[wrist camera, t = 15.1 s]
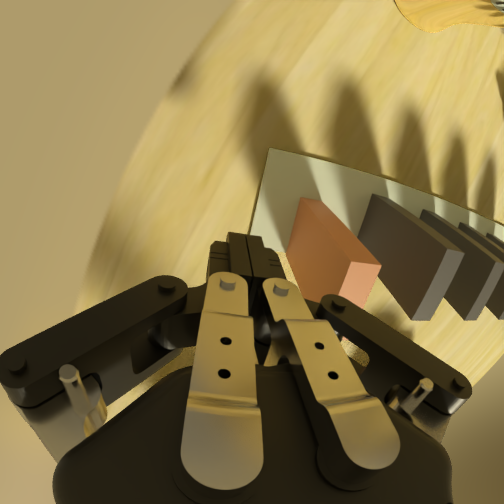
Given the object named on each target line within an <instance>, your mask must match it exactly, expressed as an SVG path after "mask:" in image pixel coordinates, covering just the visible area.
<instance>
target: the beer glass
mask: <svg viewBox="0 0 504 504" xmlns="http://www.w3.org/2000/svg"><path fill="white" fill-rule="evenodd" d="M395 2H396V5H397V7H398V8H399V10H400V11H401V13H402V14H403V15H404V17H405V18H406V19H407V20H408V21H409V22H410V23H412V24H413V25H414V26H415V27H417V28H419V29H420V30H423V31H425V32H429V33H437V32H440V31H442V30H444V29H446V28H448V27H450V26H453V25H456V24H477V25H485V26H493V27H500V28H504V0H395Z"/></svg>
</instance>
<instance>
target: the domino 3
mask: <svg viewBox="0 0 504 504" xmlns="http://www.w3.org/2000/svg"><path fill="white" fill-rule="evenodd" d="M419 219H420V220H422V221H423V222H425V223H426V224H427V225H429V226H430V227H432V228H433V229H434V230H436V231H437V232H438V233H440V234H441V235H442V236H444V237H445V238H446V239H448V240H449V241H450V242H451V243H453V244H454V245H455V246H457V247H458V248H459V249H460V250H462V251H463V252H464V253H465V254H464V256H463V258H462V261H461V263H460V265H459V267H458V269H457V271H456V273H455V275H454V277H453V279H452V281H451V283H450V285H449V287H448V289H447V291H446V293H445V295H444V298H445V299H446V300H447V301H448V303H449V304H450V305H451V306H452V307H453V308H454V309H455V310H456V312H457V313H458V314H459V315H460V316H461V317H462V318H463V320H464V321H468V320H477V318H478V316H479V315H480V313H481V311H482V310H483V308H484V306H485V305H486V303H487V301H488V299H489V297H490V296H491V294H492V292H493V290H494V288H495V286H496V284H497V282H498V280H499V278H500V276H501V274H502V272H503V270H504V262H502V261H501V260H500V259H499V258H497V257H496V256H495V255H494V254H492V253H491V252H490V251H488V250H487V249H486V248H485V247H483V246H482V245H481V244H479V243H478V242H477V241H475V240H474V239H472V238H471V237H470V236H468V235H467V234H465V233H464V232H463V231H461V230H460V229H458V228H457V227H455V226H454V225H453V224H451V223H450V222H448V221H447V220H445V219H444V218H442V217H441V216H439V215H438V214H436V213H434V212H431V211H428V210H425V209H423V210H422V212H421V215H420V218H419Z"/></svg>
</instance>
